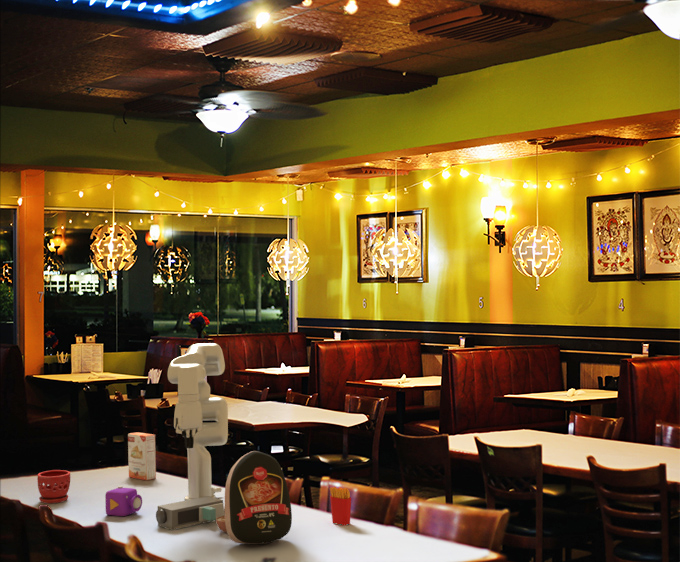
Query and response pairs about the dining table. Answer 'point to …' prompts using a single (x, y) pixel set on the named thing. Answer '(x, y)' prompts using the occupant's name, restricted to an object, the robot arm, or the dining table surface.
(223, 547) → the dining table surface
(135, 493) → the toy camera
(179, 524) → the camera housing
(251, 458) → the packaged food
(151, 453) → the cracker box
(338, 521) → the french fries
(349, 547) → the dining table surface
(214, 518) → the side door
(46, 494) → the plant pot
